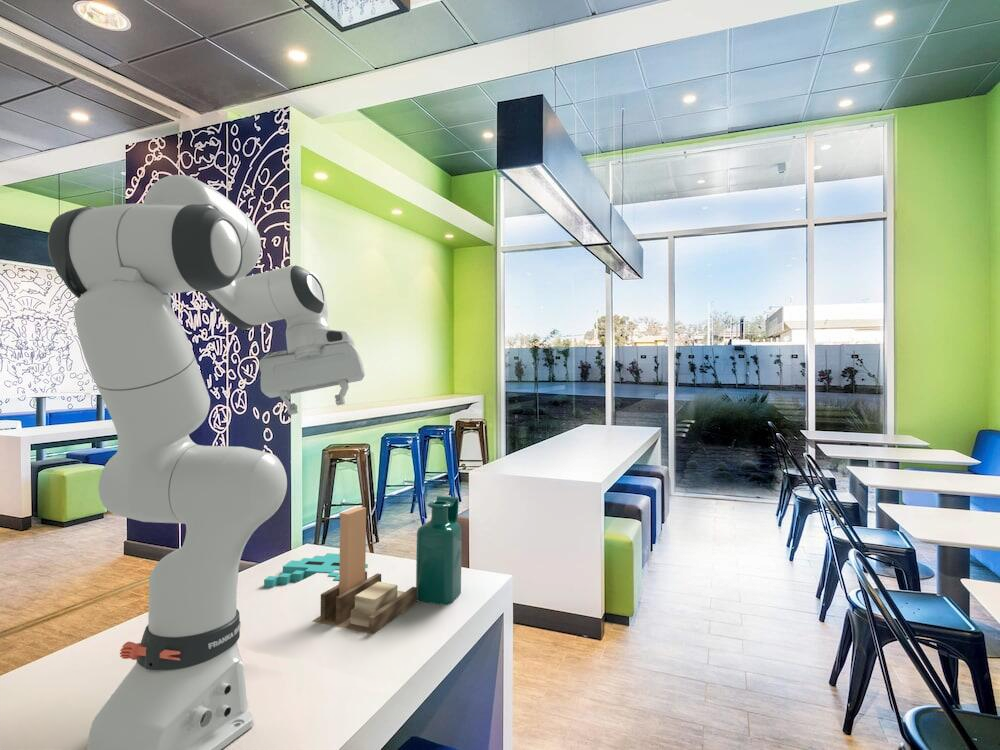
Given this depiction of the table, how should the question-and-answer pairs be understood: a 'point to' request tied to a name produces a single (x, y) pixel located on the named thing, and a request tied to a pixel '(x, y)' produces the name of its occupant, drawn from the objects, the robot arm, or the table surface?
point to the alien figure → (306, 569)
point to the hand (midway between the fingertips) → (316, 408)
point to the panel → (352, 548)
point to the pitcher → (439, 554)
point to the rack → (340, 607)
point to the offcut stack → (372, 601)
